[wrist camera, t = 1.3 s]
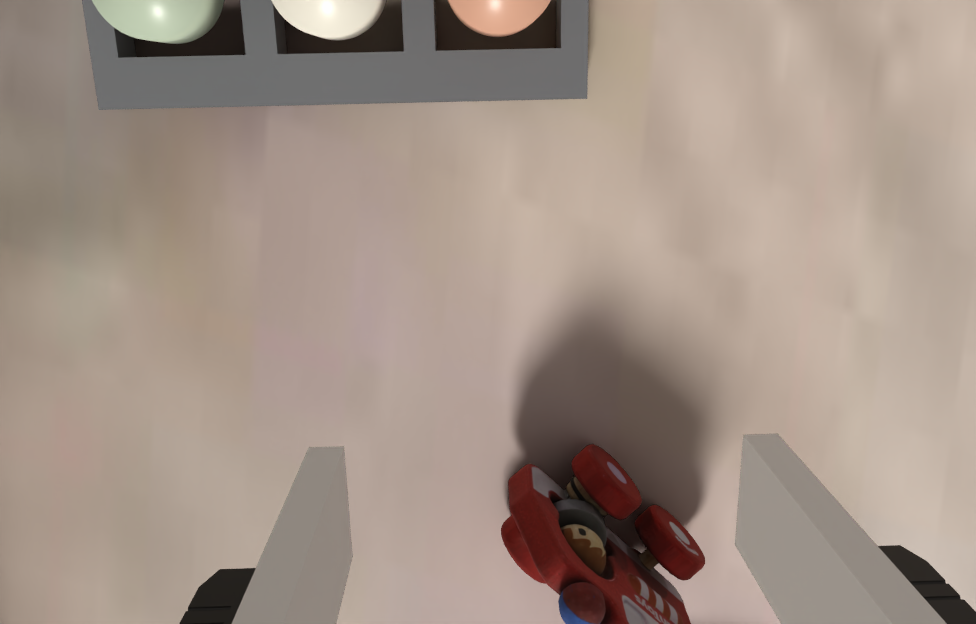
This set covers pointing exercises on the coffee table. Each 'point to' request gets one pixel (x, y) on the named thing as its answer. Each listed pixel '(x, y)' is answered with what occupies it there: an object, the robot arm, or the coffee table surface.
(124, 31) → the button sage
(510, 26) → the button terracotta
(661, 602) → the toy fire truck
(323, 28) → the button cream
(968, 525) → the coffee table surface
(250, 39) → the frame
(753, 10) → the coffee table surface
